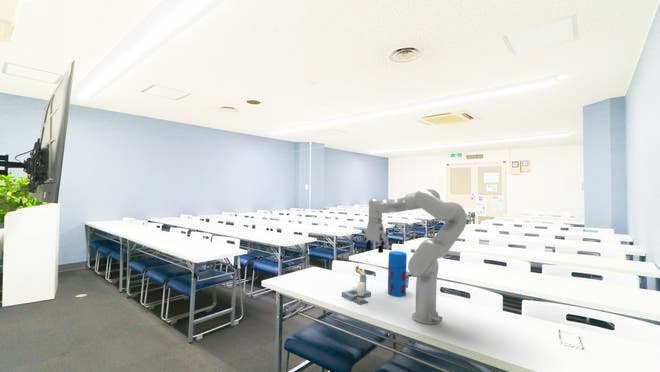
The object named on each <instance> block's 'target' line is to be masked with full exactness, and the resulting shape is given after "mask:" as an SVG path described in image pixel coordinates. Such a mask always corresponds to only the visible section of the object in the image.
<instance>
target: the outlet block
mask: <svg viewBox="0 0 660 372" xmlns="http://www.w3.org/2000/svg"><path fill="white" fill-rule="evenodd" d="M359 282H364V283H365V292H364V294H365V297H364V299H365V298H369V297H371V296H372V292H371V291H369V290H367V275H366V276H365V277H362V276H359ZM356 295H357V288H355V289H354V288H353V289H349V290H345V291H342V292H341V297H343V298H344V299H346V300H349V301H350V302H353V300H356V299H357V296H356Z"/></svg>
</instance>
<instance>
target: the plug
mask: <svg viewBox="0 0 660 372" xmlns="http://www.w3.org/2000/svg"><path fill="white" fill-rule="evenodd" d="M356 289H357V295H356V296H357V301H358V302H364V300H365V298H364V297H365V294H364V292H365V283H364V282H360V281H357V288H356Z"/></svg>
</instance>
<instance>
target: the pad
mask: <svg viewBox="0 0 660 372" xmlns="http://www.w3.org/2000/svg"><path fill="white" fill-rule="evenodd" d="M352 302H353V303H356V304H357V305H360V306H361V305H365V304H368V303H369V301H367V300H365V299H364V302H358V301H357V299H356V300H353V301H352Z"/></svg>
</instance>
